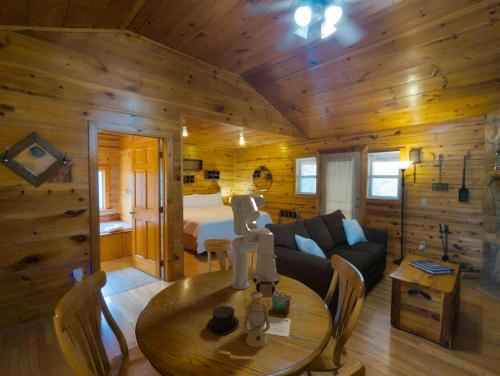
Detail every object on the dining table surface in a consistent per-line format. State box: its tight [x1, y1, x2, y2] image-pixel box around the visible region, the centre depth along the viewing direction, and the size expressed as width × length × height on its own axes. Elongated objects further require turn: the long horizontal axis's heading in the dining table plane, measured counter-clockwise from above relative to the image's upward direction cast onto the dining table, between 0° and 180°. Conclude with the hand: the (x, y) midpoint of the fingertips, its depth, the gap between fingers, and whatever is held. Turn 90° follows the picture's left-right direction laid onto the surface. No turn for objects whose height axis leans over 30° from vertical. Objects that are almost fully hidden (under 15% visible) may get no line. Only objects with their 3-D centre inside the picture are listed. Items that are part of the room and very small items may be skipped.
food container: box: [271, 290, 292, 315], centre depth 131 cm, size 12×6×10 cm, turn 47°
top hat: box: [207, 305, 240, 336], centre depth 119 cm, size 15×15×10 cm
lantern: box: [242, 273, 270, 348], centre depth 107 cm, size 12×10×30 cm
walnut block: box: [259, 280, 272, 298], centre depth 122 cm, size 6×6×6 cm
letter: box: [262, 316, 292, 338], centre depth 119 cm, size 14×12×1 cm
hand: (265, 292), depth 122 cm, fingers closed on walnut block, 6 cm apart
